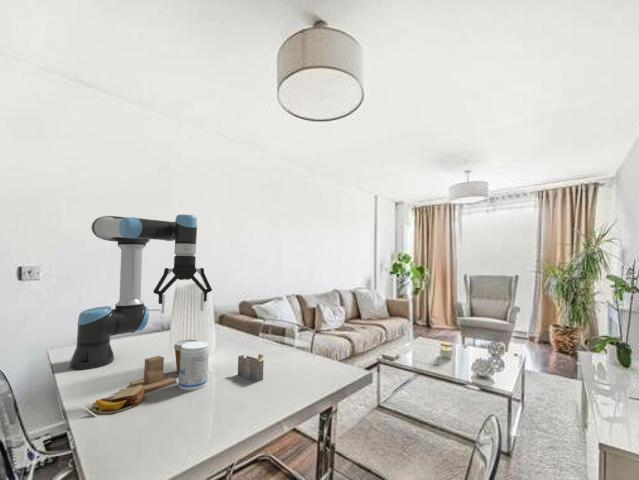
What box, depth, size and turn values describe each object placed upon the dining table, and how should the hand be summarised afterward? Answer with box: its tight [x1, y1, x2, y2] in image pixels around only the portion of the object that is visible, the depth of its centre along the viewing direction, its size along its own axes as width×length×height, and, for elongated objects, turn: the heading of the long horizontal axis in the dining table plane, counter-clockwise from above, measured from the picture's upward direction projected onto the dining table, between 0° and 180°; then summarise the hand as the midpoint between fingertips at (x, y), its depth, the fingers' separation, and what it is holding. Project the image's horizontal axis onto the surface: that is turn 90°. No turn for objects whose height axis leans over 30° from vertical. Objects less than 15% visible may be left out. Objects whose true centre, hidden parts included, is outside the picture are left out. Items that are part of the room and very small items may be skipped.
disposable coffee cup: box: [173, 339, 199, 375], centre depth 124 cm, size 10×10×12 cm
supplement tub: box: [178, 341, 210, 391], centre depth 111 cm, size 10×10×15 cm
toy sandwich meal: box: [91, 385, 146, 415], centre depth 96 cm, size 12×14×5 cm
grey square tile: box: [127, 381, 179, 396], centre depth 111 cm, size 12×12×1 cm
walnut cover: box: [128, 355, 177, 395], centre depth 111 cm, size 11×11×9 cm
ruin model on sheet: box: [237, 353, 265, 383], centre depth 120 cm, size 11×3×10 cm, turn 55°
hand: (182, 311), depth 117 cm, fingers open, 13 cm apart
